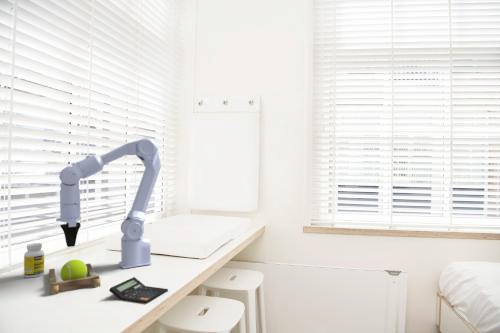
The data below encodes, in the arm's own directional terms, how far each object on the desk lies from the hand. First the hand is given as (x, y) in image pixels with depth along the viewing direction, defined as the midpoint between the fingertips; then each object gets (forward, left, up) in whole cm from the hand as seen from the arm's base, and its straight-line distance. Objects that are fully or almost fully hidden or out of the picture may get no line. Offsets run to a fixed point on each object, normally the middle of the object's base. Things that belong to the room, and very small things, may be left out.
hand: (70, 246), depth 111 cm
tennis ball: (0, +12, -9) cm, 15 cm away
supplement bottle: (+10, -4, -9) cm, 14 cm away
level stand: (0, +7, -9) cm, 11 cm away
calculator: (-14, +31, -9) cm, 35 cm away
